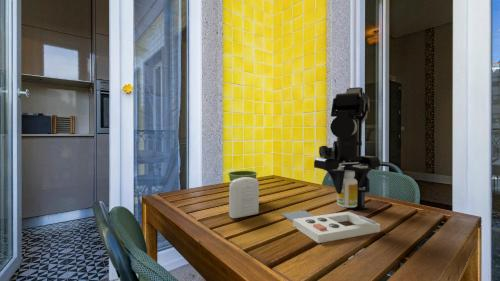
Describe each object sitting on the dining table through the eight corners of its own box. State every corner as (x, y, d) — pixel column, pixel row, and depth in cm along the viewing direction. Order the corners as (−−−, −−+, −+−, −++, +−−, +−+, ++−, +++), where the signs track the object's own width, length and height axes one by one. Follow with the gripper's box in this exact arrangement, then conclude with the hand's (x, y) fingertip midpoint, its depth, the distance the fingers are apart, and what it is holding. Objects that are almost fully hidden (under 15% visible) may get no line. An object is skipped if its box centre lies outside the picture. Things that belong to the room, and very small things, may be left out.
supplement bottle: (357, 203, 72) (357, 170, 72) (356, 208, 67) (357, 173, 67) (337, 201, 74) (338, 169, 74) (335, 206, 69) (336, 171, 69)
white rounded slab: (253, 210, 86) (253, 175, 86) (260, 214, 82) (260, 176, 82) (227, 216, 80) (226, 178, 80) (233, 220, 77) (233, 180, 76)
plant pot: (240, 196, 106) (240, 169, 106) (263, 200, 99) (263, 172, 99) (221, 202, 97) (221, 173, 96) (245, 207, 90) (245, 176, 89)
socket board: (348, 217, 79) (348, 209, 79) (380, 231, 67) (380, 222, 67) (292, 225, 72) (292, 217, 72) (318, 243, 60) (318, 232, 60)
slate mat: (304, 211, 85) (304, 210, 85) (321, 220, 76) (321, 219, 76) (281, 214, 82) (281, 213, 82) (295, 224, 73) (295, 222, 73)
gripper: (352, 137, 81) (352, 184, 81) (303, 137, 74) (303, 189, 75) (381, 137, 71) (380, 192, 71) (327, 138, 64) (326, 198, 65)
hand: (346, 192), depth 71 cm, fingers closed on supplement bottle, 5 cm apart
